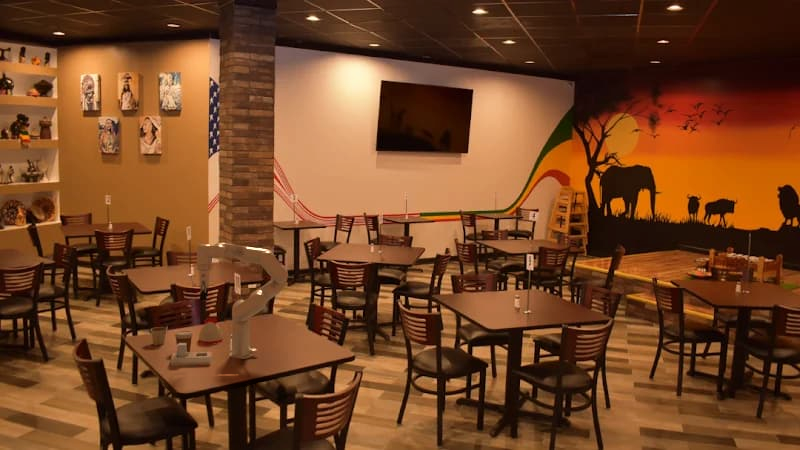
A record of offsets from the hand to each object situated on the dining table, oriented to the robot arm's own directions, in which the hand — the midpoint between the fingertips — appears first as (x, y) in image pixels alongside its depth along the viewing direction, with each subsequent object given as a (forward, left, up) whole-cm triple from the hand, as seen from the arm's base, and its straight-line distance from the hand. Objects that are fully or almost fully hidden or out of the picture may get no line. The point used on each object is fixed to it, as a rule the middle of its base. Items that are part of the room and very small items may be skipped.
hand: (203, 297), depth 371 cm
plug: (+10, +12, -32) cm, 36 cm away
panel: (+5, +12, -33) cm, 36 cm away
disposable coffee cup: (+11, -7, -34) cm, 36 cm away
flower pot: (+27, -28, -34) cm, 51 cm away
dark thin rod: (+4, +19, -33) cm, 39 cm away
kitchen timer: (-2, -32, -34) cm, 46 cm away
